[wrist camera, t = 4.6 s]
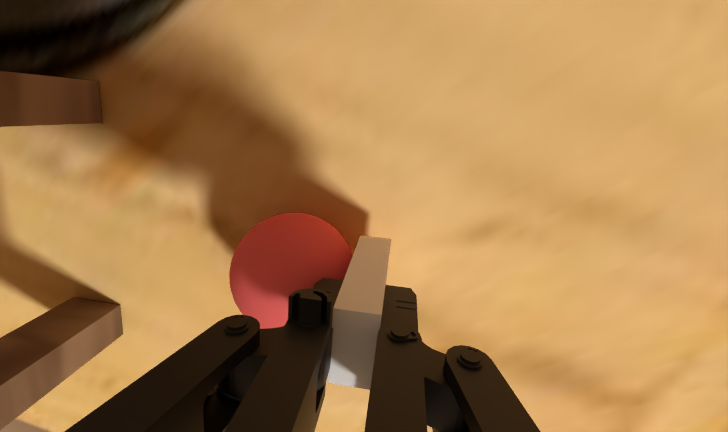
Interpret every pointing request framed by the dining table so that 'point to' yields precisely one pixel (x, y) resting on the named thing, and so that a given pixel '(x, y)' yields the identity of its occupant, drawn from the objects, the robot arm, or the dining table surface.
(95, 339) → the bridge
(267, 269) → the ball
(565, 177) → the dining table surface
